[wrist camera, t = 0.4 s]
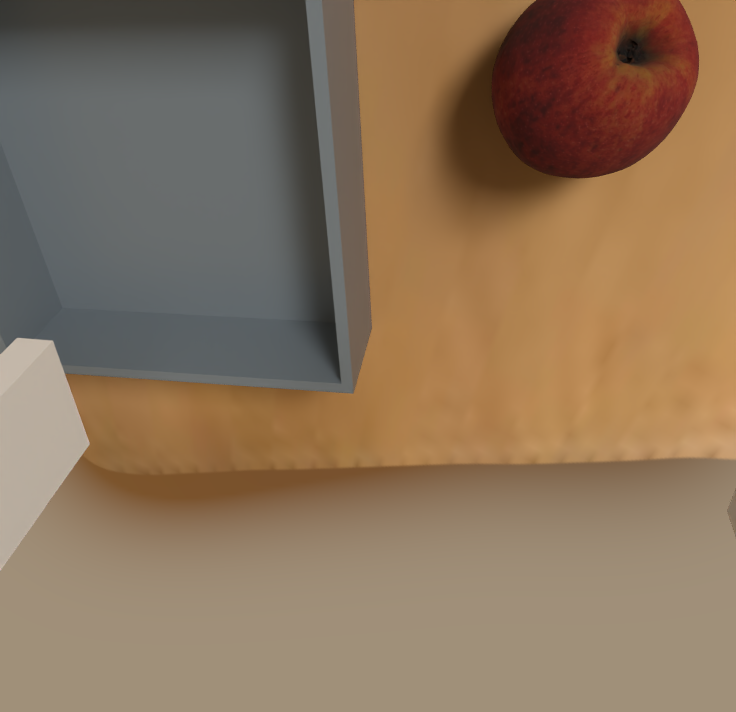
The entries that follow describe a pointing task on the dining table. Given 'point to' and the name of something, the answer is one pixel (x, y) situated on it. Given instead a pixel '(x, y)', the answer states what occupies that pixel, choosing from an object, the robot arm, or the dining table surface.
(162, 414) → the dining table surface
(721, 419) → the dining table surface
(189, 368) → the tub
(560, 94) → the apple
